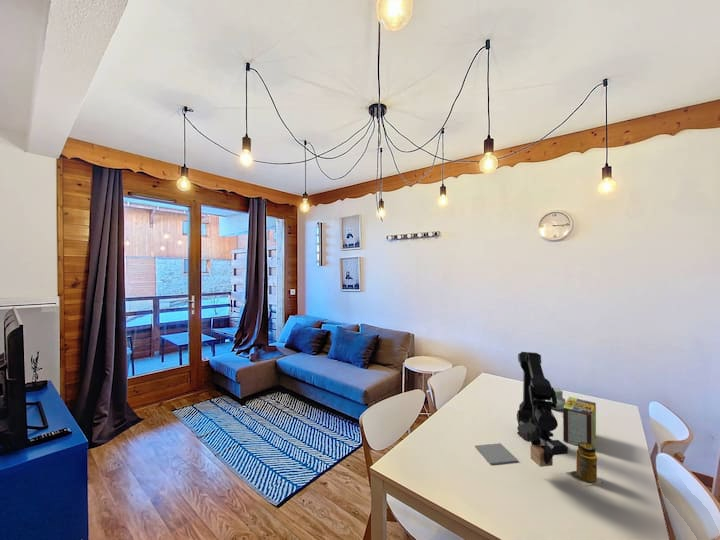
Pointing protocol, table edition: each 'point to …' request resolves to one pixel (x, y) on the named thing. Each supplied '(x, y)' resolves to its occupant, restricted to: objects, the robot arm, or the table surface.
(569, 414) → the protein box
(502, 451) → the slate pad
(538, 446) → the walnut cube
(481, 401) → the table surface
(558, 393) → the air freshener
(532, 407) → the robot arm
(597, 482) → the condiment
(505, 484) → the table surface
